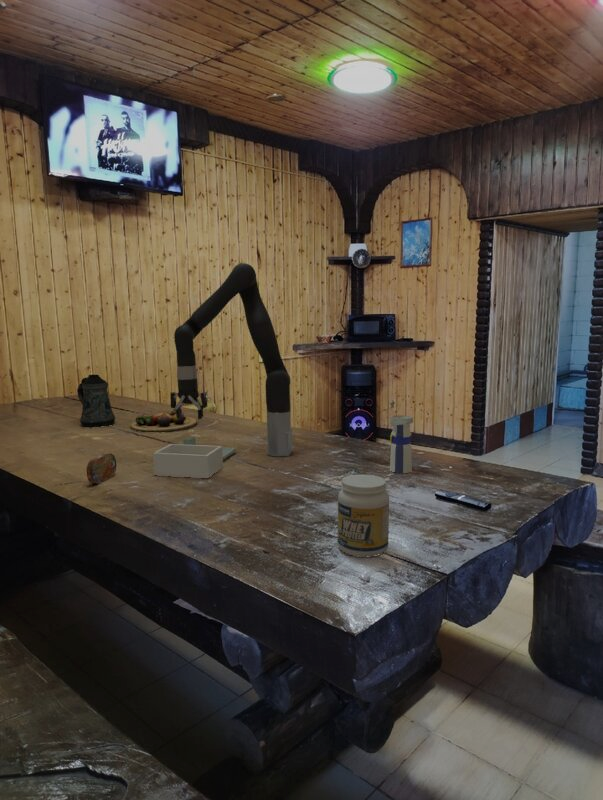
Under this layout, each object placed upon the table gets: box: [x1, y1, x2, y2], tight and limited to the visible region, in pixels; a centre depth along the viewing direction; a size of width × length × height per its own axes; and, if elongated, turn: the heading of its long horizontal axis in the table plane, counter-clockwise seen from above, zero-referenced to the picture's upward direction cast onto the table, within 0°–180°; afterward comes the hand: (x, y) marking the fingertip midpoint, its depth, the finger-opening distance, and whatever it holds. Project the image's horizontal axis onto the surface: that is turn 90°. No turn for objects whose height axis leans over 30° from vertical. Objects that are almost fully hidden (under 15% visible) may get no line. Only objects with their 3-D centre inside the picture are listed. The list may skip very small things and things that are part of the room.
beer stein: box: [76, 374, 116, 428], centre depth 286 cm, size 16×19×25 cm
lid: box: [182, 436, 237, 461], centre depth 223 cm, size 20×14×8 cm
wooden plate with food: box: [130, 407, 198, 434], centre depth 282 cm, size 32×32×8 cm
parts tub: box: [152, 443, 224, 479], centre depth 203 cm, size 20×14×8 cm
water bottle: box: [389, 399, 414, 474], centre depth 200 cm, size 8×9×25 cm
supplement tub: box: [336, 473, 390, 558], centre depth 136 cm, size 12×12×17 cm
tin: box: [85, 452, 117, 485], centre depth 194 cm, size 15×3×8 cm, turn 168°
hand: (189, 418), depth 223 cm, fingers open, 8 cm apart
